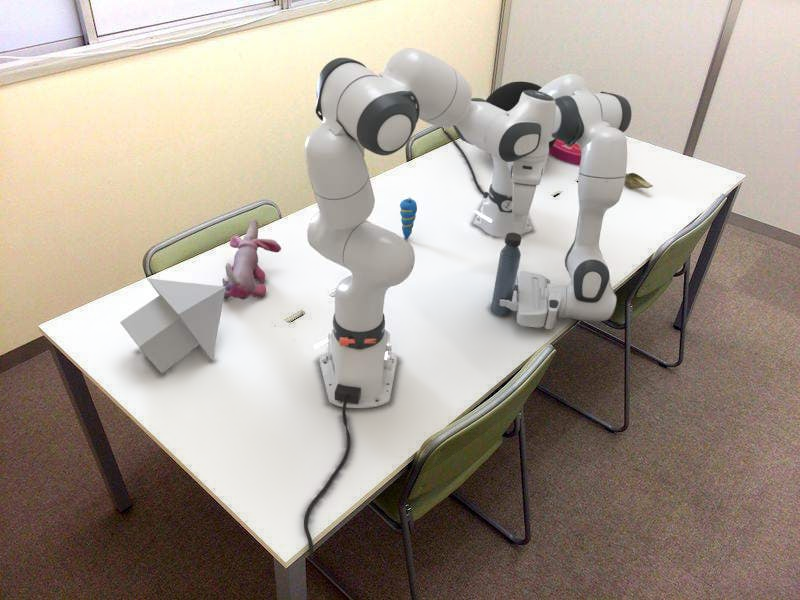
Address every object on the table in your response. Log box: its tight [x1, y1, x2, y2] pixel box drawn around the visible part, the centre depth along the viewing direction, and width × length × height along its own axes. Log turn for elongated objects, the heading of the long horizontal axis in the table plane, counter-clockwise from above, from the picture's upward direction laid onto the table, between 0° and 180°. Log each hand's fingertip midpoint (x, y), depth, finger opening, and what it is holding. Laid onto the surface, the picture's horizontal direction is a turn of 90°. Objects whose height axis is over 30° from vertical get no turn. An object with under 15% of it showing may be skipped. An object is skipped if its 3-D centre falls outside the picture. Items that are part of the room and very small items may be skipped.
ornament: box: [399, 195, 418, 241], centre depth 199 cm, size 5×5×15 cm
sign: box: [549, 139, 581, 166], centre depth 263 cm, size 30×4×30 cm
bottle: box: [490, 244, 522, 317], centre depth 171 cm, size 5×5×23 cm
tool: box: [624, 172, 654, 189], centre depth 240 cm, size 22×6×5 cm, turn 26°
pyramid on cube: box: [119, 277, 226, 374], centre depth 156 cm, size 17×24×18 cm
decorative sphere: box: [485, 80, 556, 156], centre depth 243 cm, size 30×30×30 cm
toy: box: [221, 218, 282, 301], centre depth 179 cm, size 19×24×15 cm
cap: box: [504, 233, 522, 248], centre depth 165 cm, size 4×4×2 cm
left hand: (518, 212), depth 160 cm, fingers open, 6 cm apart
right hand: (499, 294), depth 175 cm, fingers closed on bottle, 5 cm apart
